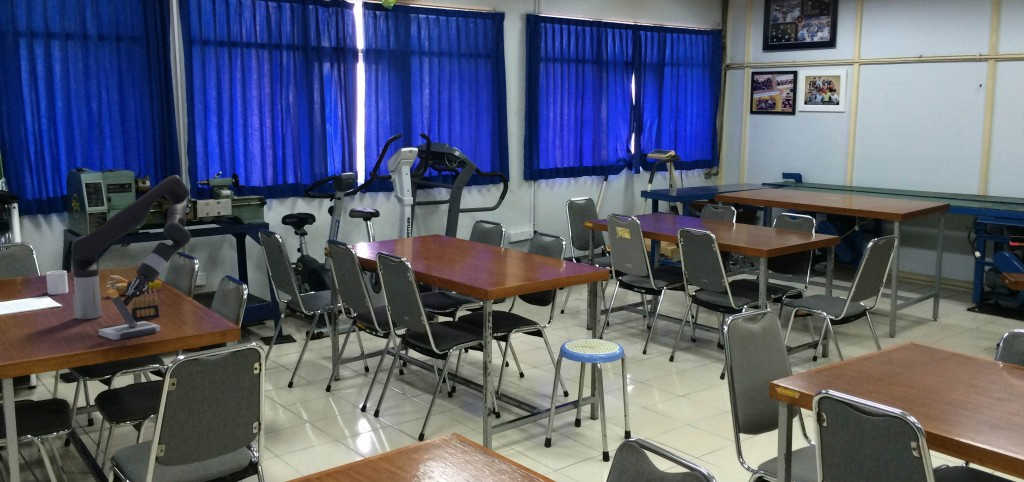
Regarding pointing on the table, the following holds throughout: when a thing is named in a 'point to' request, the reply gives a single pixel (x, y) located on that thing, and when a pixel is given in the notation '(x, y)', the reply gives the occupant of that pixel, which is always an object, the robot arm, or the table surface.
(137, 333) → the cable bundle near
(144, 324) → the grey flat slab
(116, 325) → the grey bar
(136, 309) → the ammunition clip
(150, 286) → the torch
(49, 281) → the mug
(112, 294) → the lever
